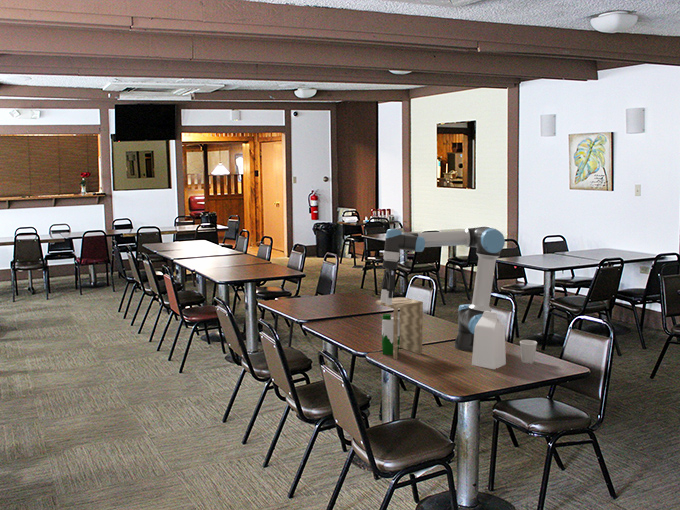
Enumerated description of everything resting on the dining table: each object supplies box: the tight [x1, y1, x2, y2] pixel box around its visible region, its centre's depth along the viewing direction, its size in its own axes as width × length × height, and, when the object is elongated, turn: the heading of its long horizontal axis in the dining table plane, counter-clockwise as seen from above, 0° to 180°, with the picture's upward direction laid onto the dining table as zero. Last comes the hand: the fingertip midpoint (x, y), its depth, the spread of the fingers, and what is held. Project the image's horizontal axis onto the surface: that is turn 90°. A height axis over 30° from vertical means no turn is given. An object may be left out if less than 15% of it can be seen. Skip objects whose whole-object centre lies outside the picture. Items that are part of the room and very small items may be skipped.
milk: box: [471, 311, 507, 370], centre depth 336 cm, size 12×12×26 cm
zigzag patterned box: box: [374, 296, 424, 360], centre depth 357 cm, size 16×18×27 cm
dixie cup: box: [519, 339, 538, 364], centre depth 342 cm, size 8×8×10 cm
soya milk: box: [381, 313, 400, 356], centre depth 357 cm, size 9×9×20 cm
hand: (385, 303), depth 343 cm, fingers open, 13 cm apart
